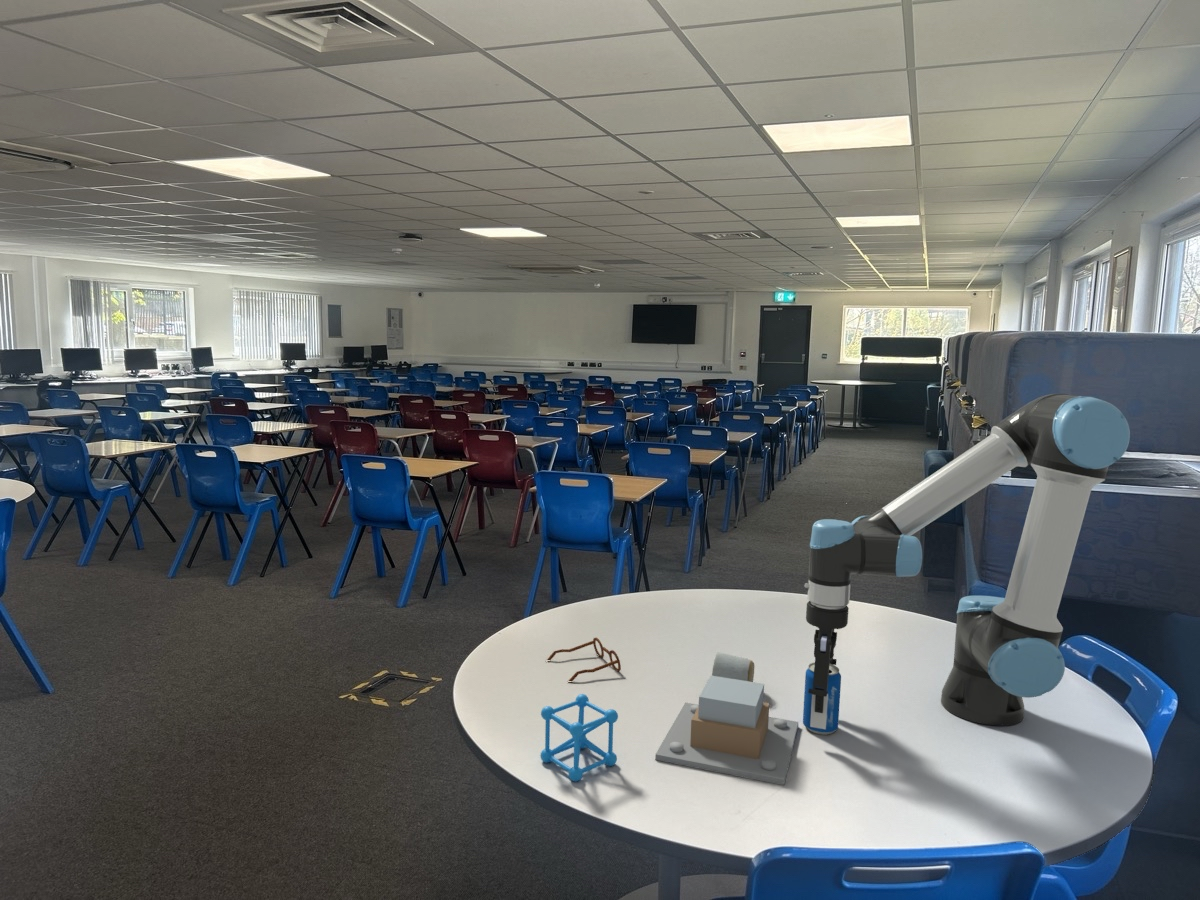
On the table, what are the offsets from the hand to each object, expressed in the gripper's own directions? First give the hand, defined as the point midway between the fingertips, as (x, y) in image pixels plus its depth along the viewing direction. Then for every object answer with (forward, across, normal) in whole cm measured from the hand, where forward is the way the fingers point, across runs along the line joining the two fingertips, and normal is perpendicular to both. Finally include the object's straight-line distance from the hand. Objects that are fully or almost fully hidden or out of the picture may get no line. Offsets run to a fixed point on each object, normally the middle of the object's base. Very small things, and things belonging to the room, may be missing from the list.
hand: (820, 711), depth 152 cm
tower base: (+3, +12, -15) cm, 19 cm away
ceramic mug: (+4, -12, -19) cm, 23 cm away
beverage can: (+4, 0, 0) cm, 4 cm away
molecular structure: (+4, +29, -38) cm, 48 cm away
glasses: (+4, -10, -52) cm, 53 cm away
